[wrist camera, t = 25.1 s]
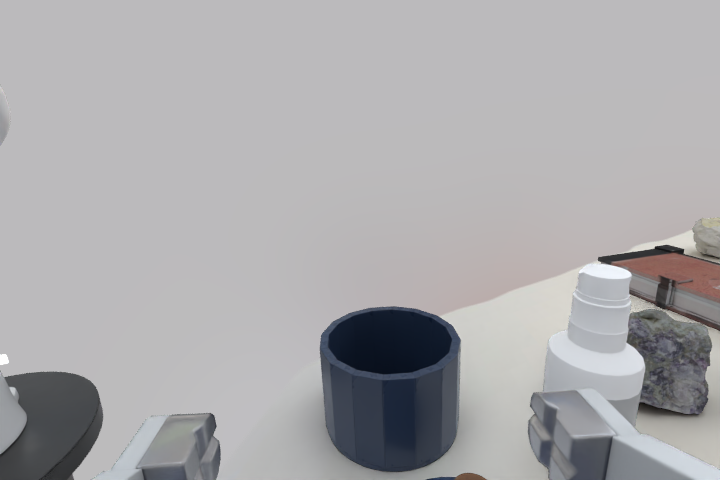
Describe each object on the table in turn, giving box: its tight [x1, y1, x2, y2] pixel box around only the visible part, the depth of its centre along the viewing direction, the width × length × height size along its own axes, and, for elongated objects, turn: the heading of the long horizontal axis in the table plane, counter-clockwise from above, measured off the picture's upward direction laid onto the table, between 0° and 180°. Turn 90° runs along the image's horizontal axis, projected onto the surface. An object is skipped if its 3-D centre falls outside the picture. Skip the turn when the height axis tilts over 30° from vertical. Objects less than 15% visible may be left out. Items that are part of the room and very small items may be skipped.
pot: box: [320, 307, 461, 472], centre depth 39 cm, size 14×14×10 cm
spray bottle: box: [543, 264, 645, 469], centre depth 31 cm, size 7×7×18 cm
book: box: [598, 245, 720, 330], centre depth 62 cm, size 26×18×5 cm
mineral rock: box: [626, 309, 712, 414], centre depth 41 cm, size 13×11×10 cm
